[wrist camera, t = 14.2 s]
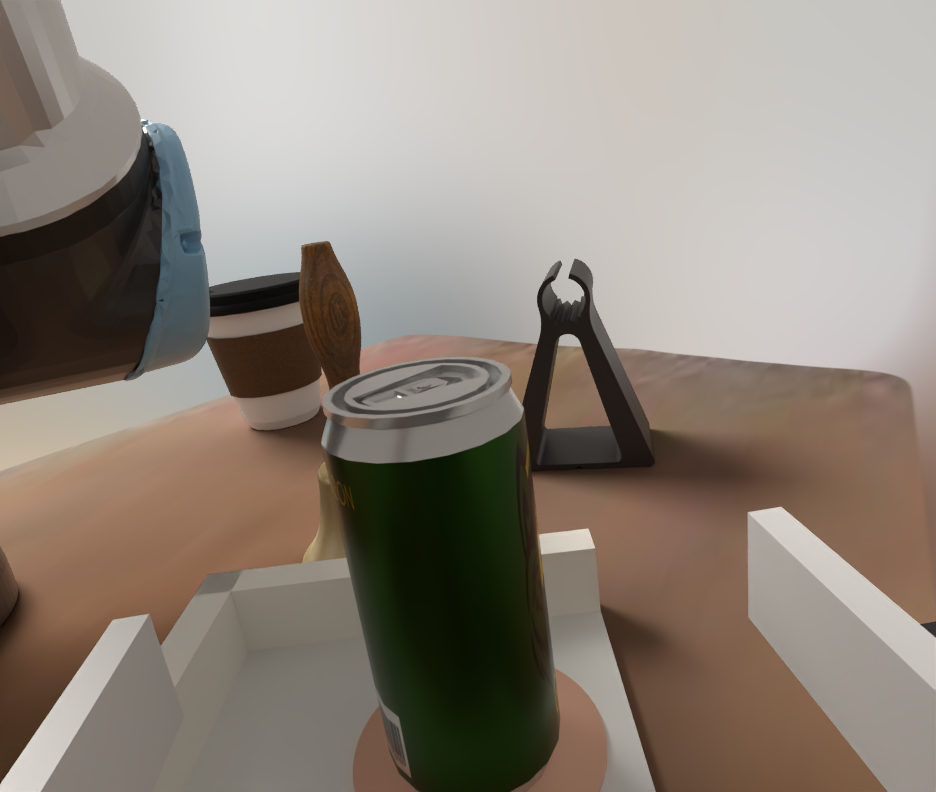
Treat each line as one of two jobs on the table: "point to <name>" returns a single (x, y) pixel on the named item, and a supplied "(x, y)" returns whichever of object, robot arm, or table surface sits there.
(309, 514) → the table surface
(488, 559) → the beer can
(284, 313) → the coffee cup
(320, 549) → the hand bell
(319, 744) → the tray
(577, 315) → the phone stand
